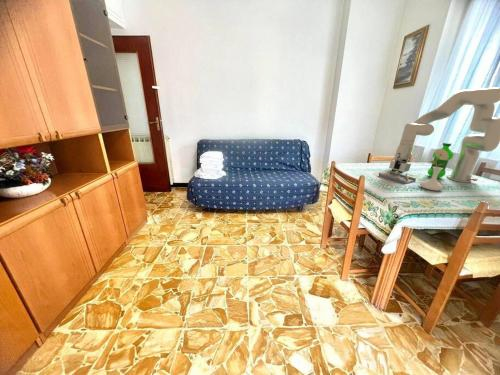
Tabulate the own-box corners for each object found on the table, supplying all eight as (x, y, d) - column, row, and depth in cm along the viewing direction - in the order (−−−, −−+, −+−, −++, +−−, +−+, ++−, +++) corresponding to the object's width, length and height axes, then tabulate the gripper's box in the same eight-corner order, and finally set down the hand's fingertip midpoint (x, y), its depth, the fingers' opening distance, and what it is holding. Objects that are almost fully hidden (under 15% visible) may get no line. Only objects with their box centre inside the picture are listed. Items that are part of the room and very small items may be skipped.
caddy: (415, 181, 142) (417, 175, 141) (404, 184, 137) (405, 178, 136) (389, 173, 157) (390, 168, 156) (378, 176, 152) (379, 171, 151)
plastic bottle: (444, 180, 145) (458, 145, 135) (425, 177, 151) (437, 143, 141) (443, 176, 152) (456, 143, 143) (425, 174, 158) (436, 141, 148)
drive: (408, 170, 142) (411, 163, 140) (403, 171, 139) (406, 163, 137) (393, 167, 150) (396, 159, 148) (388, 167, 147) (391, 160, 145)
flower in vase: (446, 193, 124) (463, 152, 115) (425, 191, 126) (439, 151, 117) (433, 185, 136) (447, 147, 127) (413, 183, 138) (426, 146, 129)
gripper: (408, 141, 144) (400, 165, 151) (393, 142, 137) (386, 168, 144) (420, 142, 138) (411, 168, 145) (405, 144, 131) (397, 171, 138)
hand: (398, 168), depth 144 cm, fingers closed on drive, 6 cm apart
